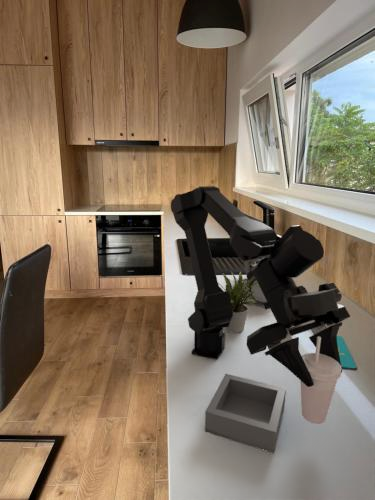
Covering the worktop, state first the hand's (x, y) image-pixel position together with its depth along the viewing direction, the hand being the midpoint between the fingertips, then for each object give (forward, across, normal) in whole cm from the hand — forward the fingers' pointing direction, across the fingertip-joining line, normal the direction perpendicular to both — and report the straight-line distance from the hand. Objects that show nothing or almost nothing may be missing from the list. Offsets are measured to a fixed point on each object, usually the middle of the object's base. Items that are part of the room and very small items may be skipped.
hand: (325, 379), depth 54 cm
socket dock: (+1, -7, +16) cm, 17 cm away
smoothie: (+5, 0, +6) cm, 8 cm away
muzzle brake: (-31, +38, +50) cm, 70 cm away
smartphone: (-3, +27, +21) cm, 34 cm away
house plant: (-18, +14, +36) cm, 42 cm away
